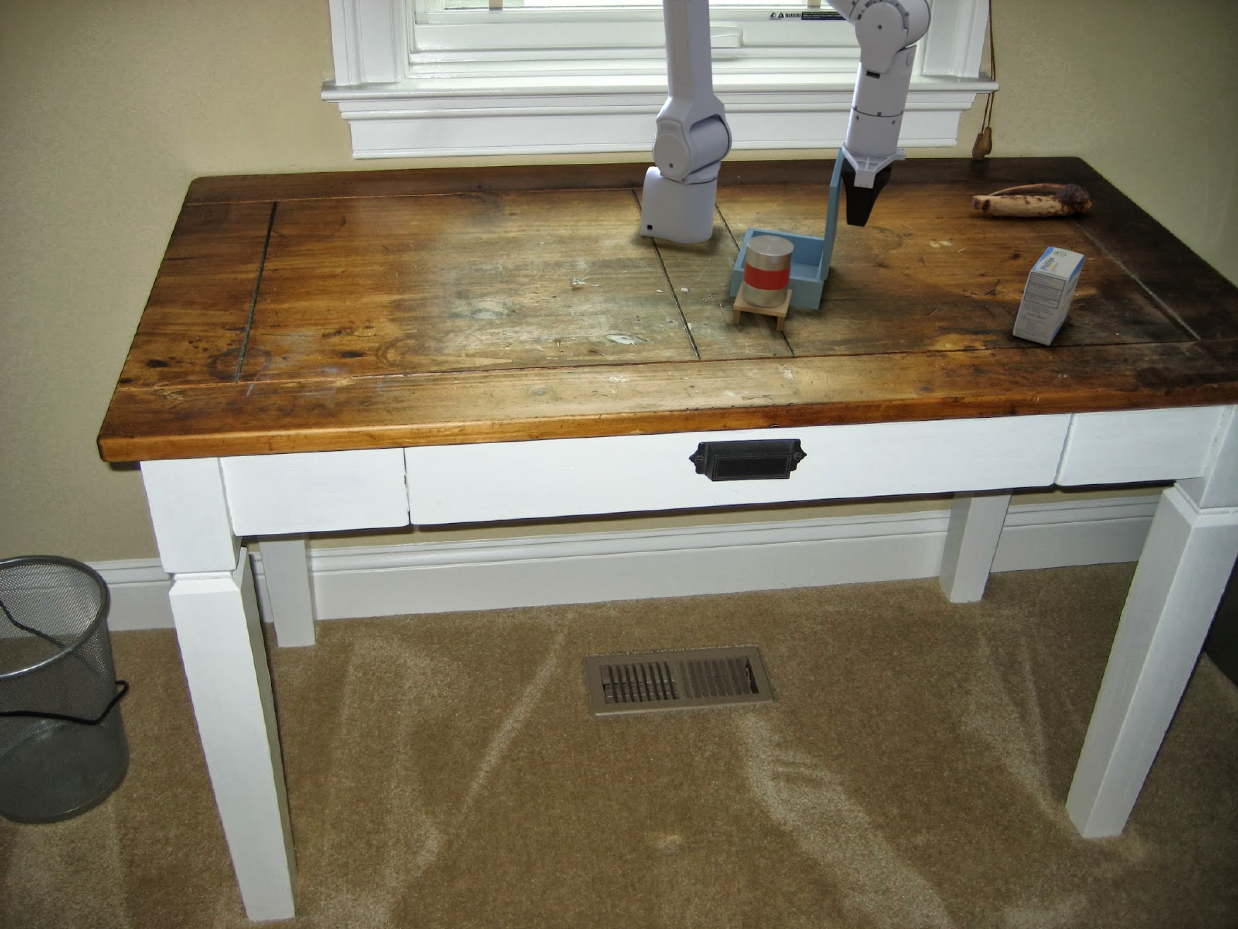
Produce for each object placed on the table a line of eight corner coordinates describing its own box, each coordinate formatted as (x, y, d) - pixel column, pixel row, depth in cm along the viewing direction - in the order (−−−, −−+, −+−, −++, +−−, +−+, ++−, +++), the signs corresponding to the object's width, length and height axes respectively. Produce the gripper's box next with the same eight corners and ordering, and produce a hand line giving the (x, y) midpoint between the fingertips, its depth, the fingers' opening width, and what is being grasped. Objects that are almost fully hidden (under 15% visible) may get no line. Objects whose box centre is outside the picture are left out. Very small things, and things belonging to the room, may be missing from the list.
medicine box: (1048, 347, 124) (1070, 279, 119) (1010, 336, 125) (1030, 268, 120) (1065, 320, 129) (1087, 254, 124) (1028, 309, 131) (1048, 244, 126)
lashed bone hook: (1065, 200, 161) (951, 198, 158) (1075, 169, 158) (959, 167, 155) (1096, 224, 153) (977, 223, 150) (1106, 192, 150) (985, 190, 148)
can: (737, 303, 122) (744, 251, 118) (744, 283, 126) (751, 232, 123) (783, 310, 121) (791, 258, 118) (789, 290, 126) (796, 238, 122)
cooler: (728, 301, 129) (732, 269, 127) (744, 257, 139) (748, 226, 137) (816, 315, 128) (822, 282, 125) (826, 269, 137) (832, 238, 135)
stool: (730, 329, 124) (733, 304, 122) (738, 305, 129) (741, 281, 127) (782, 337, 123) (786, 312, 121) (788, 313, 128) (792, 289, 126)
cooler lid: (829, 186, 118) (837, 186, 118) (839, 147, 128) (846, 147, 128) (819, 278, 125) (826, 279, 125) (829, 235, 135) (835, 235, 135)
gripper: (912, 134, 112) (887, 254, 120) (916, 92, 123) (893, 204, 131) (844, 126, 113) (824, 245, 121) (854, 85, 125) (835, 196, 133)
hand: (856, 223), depth 127 cm, fingers closed, pressing on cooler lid
